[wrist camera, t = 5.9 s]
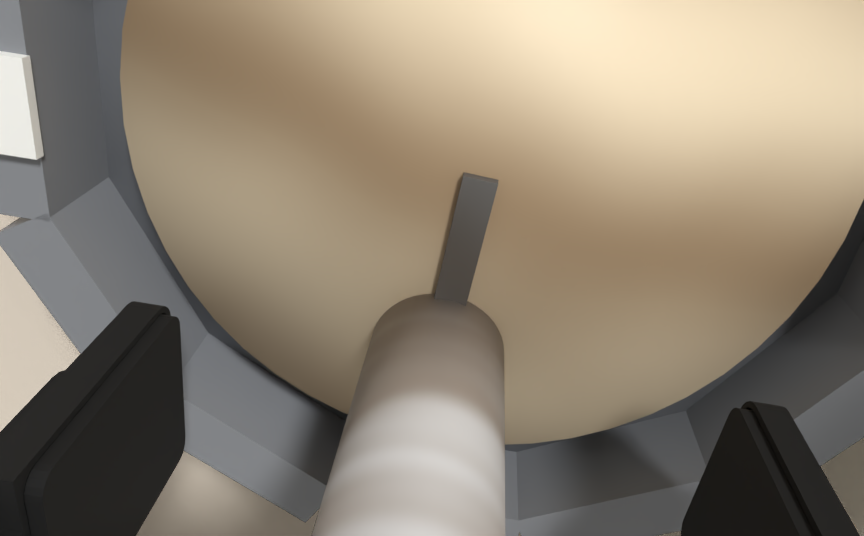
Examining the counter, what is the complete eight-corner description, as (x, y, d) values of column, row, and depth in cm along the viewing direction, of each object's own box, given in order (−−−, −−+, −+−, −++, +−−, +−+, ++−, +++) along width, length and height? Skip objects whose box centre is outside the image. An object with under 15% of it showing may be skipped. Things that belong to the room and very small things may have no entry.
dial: (148, -391, 9) (-534, -966, 3) (1027, -184, 10) (1989, -350, 3) (146, 345, 15) (-97, 644, 9) (691, 465, 15) (819, 838, 9)
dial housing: (1251, -424, 9) (1651, -600, 6) (772, 509, 18) (832, 643, 15) (-36, -606, 10) (-307, -865, 6) (92, 397, 18) (2, 504, 15)
